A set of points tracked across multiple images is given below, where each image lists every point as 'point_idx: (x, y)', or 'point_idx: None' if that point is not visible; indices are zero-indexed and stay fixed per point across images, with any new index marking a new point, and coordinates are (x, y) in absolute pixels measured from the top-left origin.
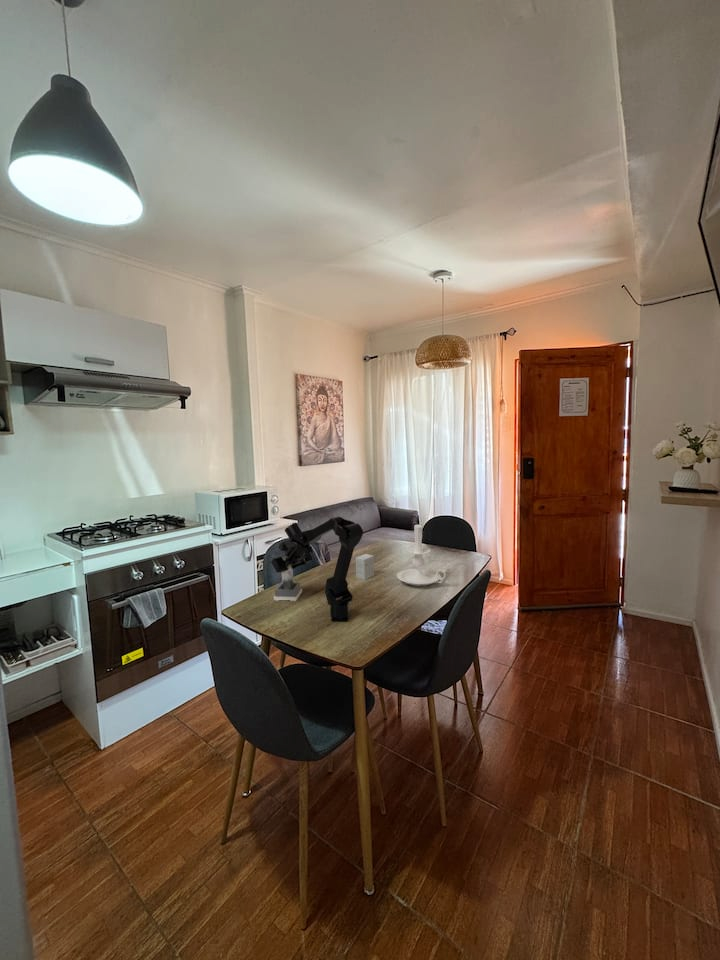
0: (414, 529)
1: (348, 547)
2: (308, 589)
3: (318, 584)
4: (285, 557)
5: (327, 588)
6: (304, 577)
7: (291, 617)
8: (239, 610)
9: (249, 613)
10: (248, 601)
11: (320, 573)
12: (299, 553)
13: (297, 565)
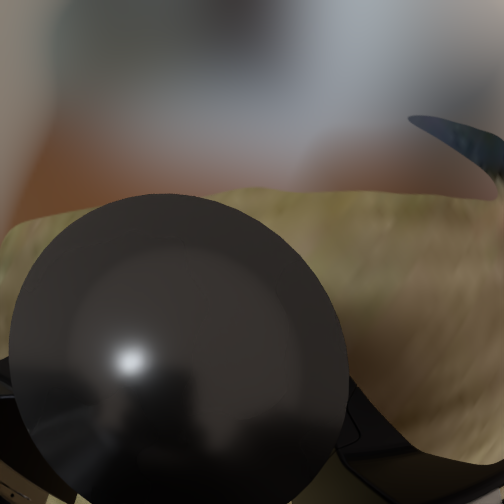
0: None
1: None
2: (366, 368)
3: (437, 353)
4: (176, 306)
5: None
6: (446, 218)
7: (79, 498)
8: (14, 256)
9: (10, 316)
10: (79, 212)
11: (501, 248)
12: None
13: (297, 502)
